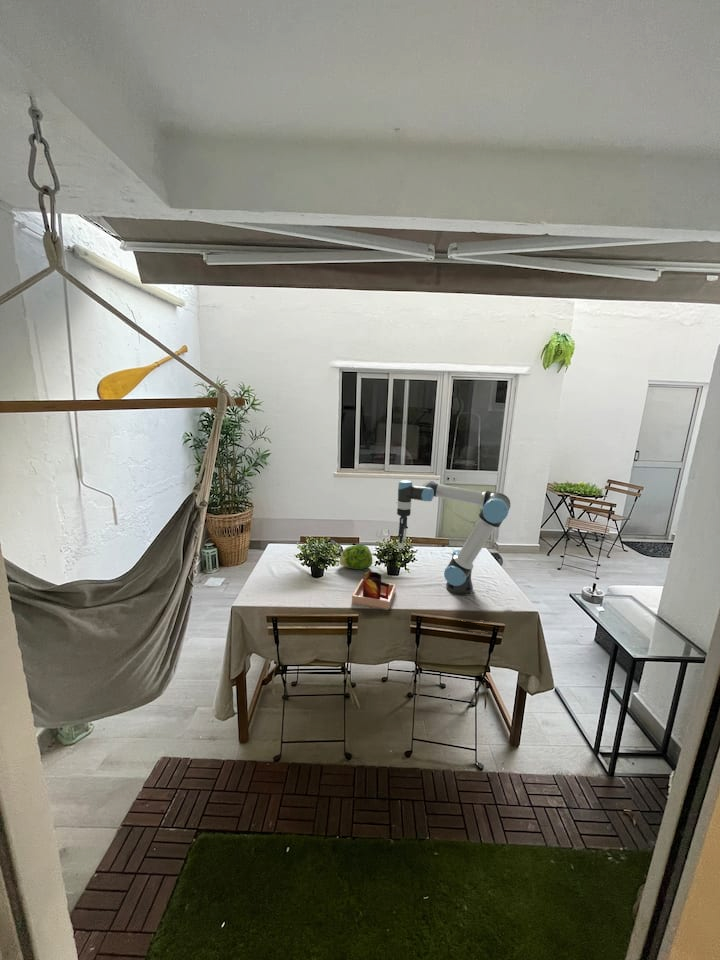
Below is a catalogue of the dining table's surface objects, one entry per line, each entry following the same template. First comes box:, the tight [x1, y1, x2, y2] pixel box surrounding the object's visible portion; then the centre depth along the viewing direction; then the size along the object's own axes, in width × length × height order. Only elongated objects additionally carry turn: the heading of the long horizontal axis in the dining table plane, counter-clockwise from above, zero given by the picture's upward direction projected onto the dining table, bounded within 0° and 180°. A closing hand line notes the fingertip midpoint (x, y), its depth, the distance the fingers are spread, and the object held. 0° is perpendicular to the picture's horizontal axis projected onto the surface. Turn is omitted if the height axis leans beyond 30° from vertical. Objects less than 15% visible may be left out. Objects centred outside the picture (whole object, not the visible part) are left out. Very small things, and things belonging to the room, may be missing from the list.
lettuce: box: [338, 544, 373, 570], centre depth 259 cm, size 16×21×15 cm
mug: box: [363, 571, 389, 599], centre depth 223 cm, size 10×14×12 cm
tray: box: [351, 578, 397, 611], centre depth 224 cm, size 20×20×5 cm
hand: (402, 543), depth 233 cm, fingers open, 13 cm apart
